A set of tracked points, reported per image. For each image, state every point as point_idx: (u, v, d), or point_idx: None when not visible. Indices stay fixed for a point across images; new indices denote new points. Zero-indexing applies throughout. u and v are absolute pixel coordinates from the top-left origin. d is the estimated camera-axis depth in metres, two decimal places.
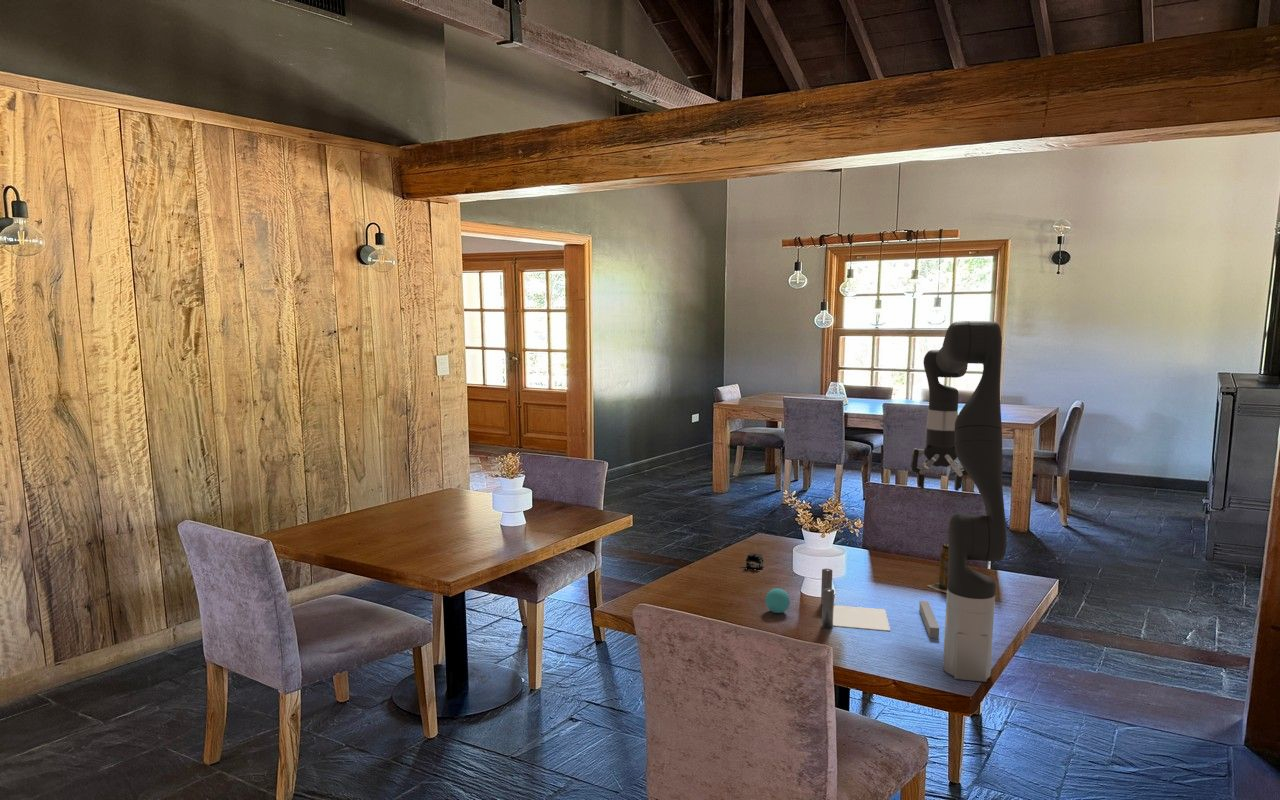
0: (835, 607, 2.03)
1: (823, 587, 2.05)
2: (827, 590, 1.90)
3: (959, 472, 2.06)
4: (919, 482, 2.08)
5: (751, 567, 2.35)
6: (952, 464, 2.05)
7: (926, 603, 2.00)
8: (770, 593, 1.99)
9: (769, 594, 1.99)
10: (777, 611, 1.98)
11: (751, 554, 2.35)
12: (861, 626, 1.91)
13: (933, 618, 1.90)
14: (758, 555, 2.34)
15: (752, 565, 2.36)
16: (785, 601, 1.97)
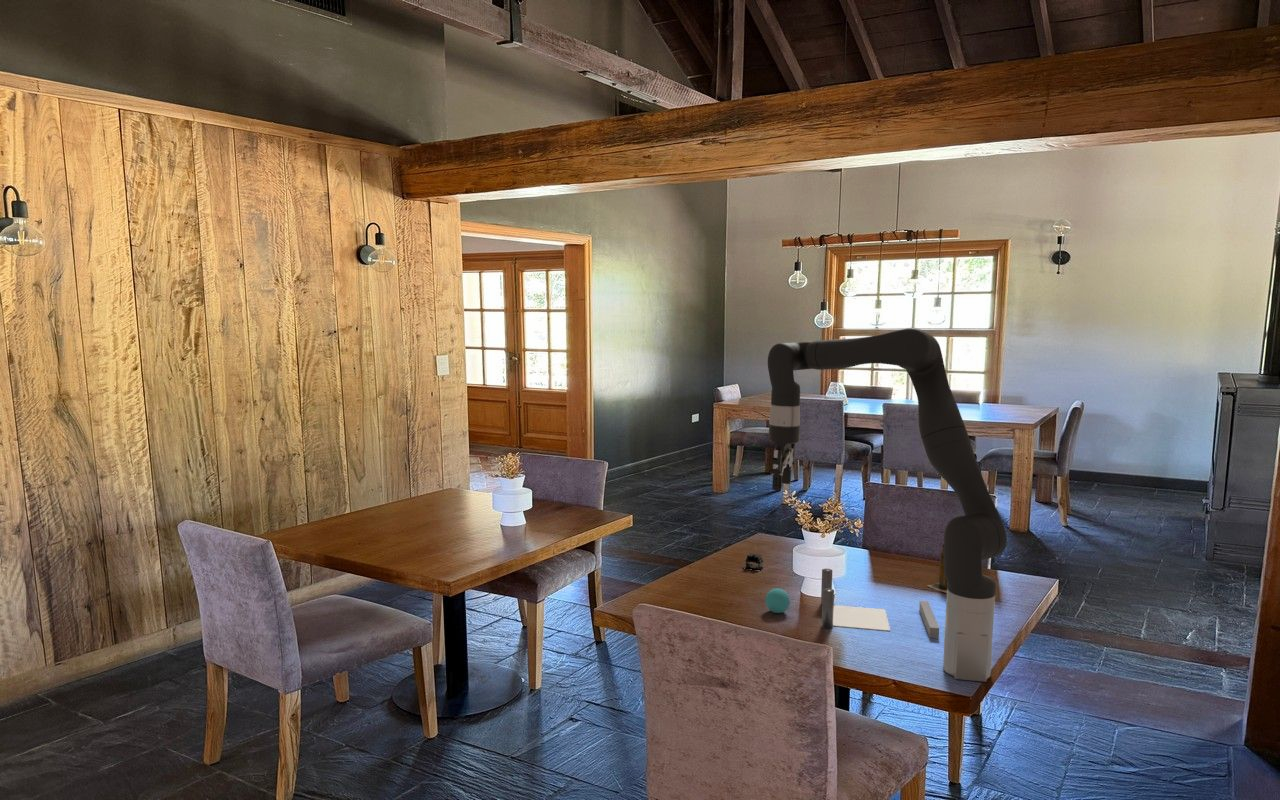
0: (835, 607, 2.03)
1: (823, 587, 2.05)
2: (827, 590, 1.90)
3: (791, 465, 2.04)
4: (779, 484, 1.96)
5: (751, 567, 2.34)
6: (792, 458, 2.02)
7: (926, 603, 2.00)
8: (770, 593, 1.99)
9: (769, 594, 1.99)
10: (777, 611, 1.98)
11: (751, 554, 2.35)
12: (861, 626, 1.91)
13: (933, 618, 1.90)
14: (758, 555, 2.34)
15: (752, 565, 2.35)
16: (785, 601, 1.97)
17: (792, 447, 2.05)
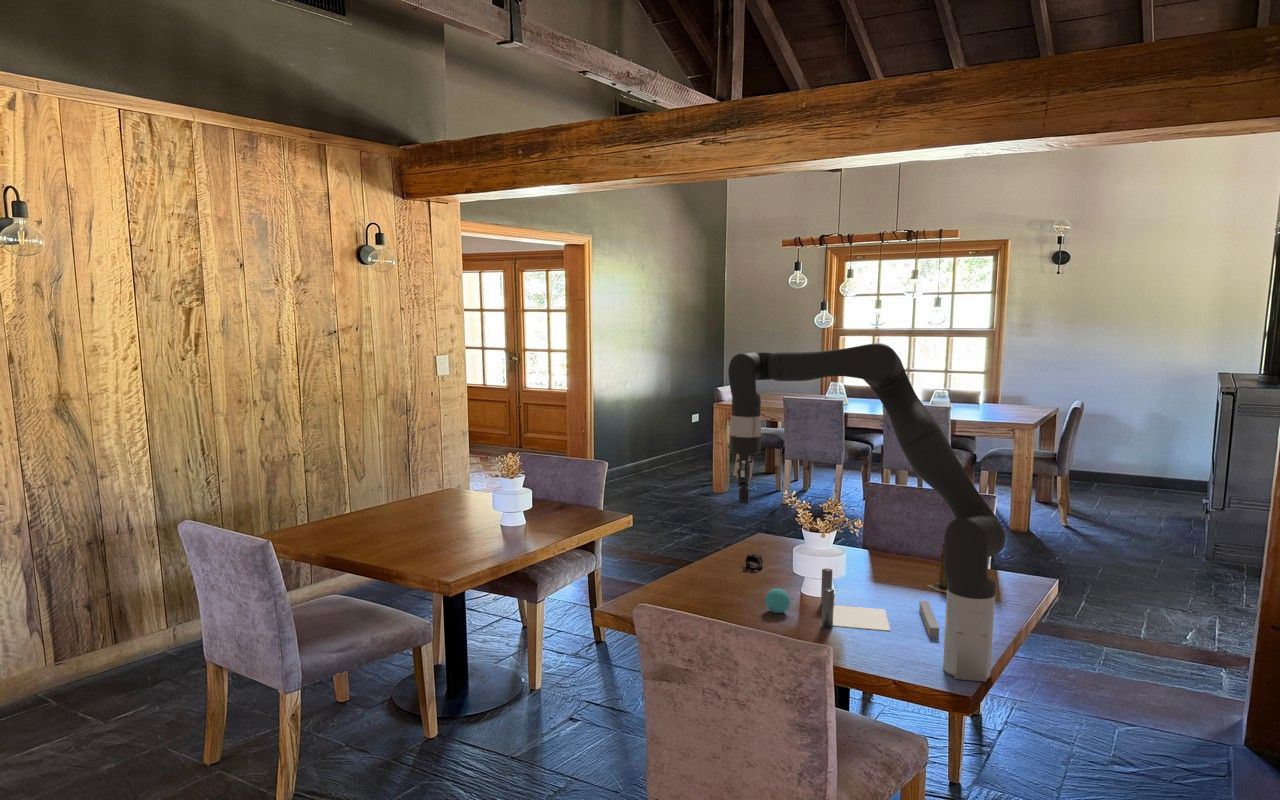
0: (835, 607, 2.03)
1: (823, 587, 2.05)
2: (827, 590, 1.90)
3: (749, 483, 1.99)
4: (746, 497, 1.97)
5: (750, 567, 2.34)
6: (751, 472, 1.99)
7: (926, 603, 2.00)
8: (770, 593, 1.99)
9: (769, 594, 1.99)
10: (777, 611, 1.98)
11: (750, 554, 2.35)
12: (861, 626, 1.91)
13: (933, 618, 1.90)
14: (757, 556, 2.34)
15: (751, 565, 2.36)
16: (785, 601, 1.97)
17: None
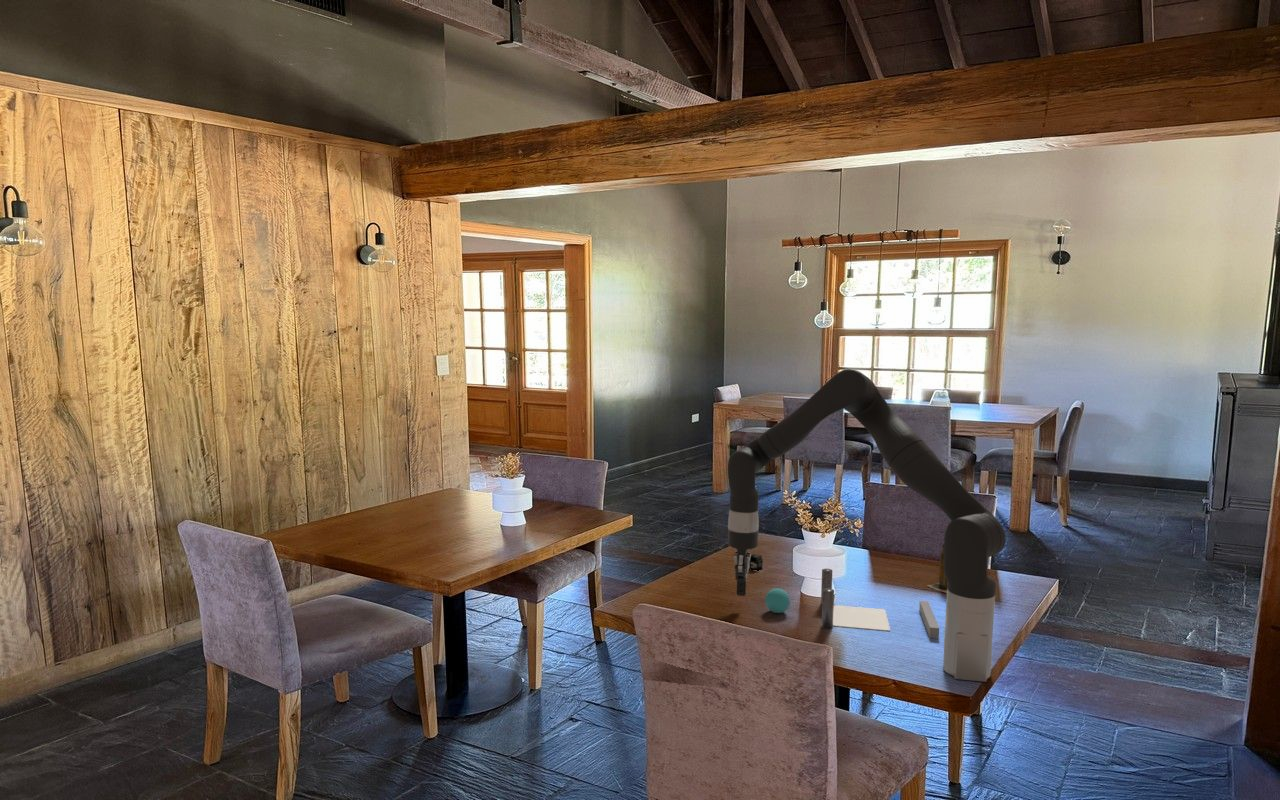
0: (835, 607, 2.03)
1: (823, 587, 2.05)
2: (827, 590, 1.90)
3: (746, 575, 2.01)
4: (743, 590, 2.00)
5: (749, 567, 2.34)
6: None
7: (926, 603, 2.00)
8: (770, 593, 1.99)
9: (769, 594, 1.99)
10: (777, 611, 1.98)
11: None
12: (861, 626, 1.91)
13: (933, 618, 1.90)
14: (757, 556, 2.34)
15: (751, 565, 2.36)
16: (785, 601, 1.97)
17: None
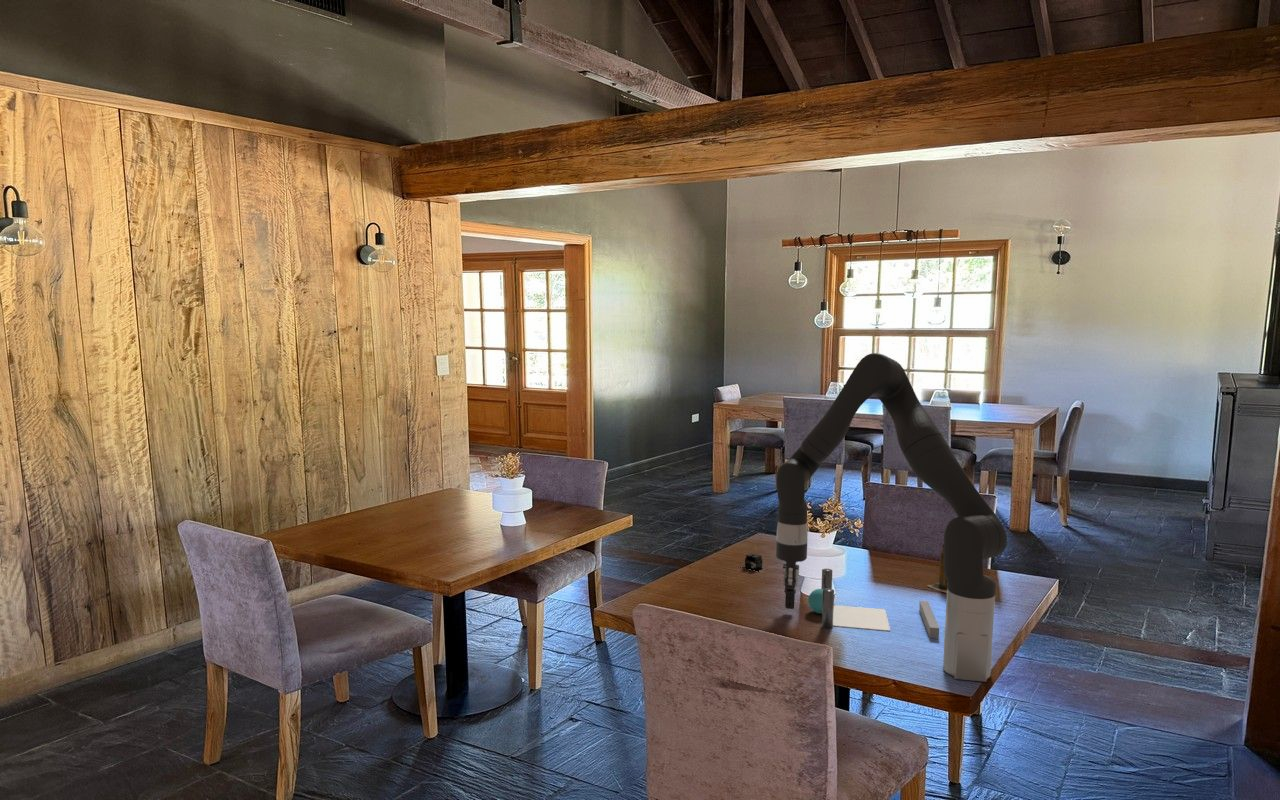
0: (835, 607, 2.03)
1: (823, 587, 2.05)
2: (827, 590, 1.90)
3: None
4: (792, 603, 1.98)
5: (749, 567, 2.34)
6: None
7: (926, 603, 2.00)
8: None
9: None
10: None
11: (750, 554, 2.35)
12: (861, 626, 1.91)
13: (933, 618, 1.90)
14: (756, 556, 2.34)
15: (751, 565, 2.36)
16: (816, 605, 1.97)
17: None
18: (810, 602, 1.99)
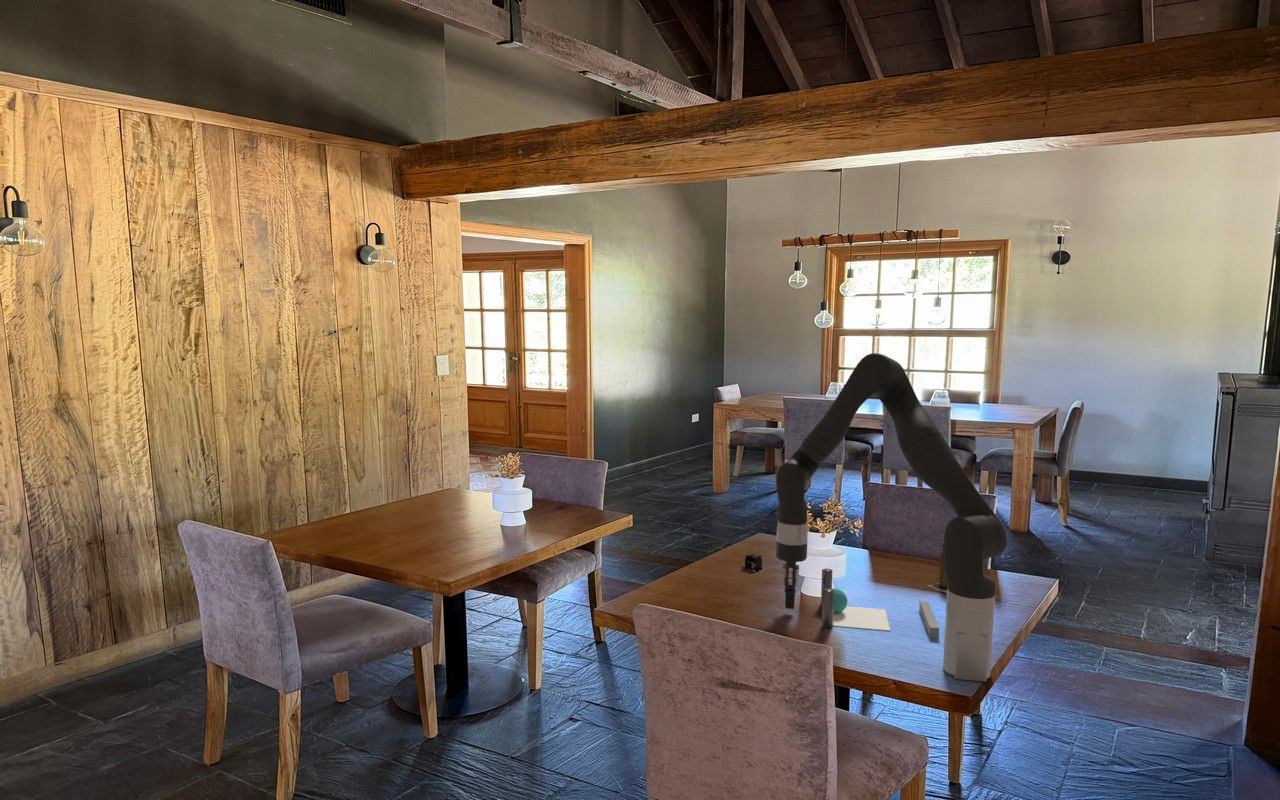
0: None
1: (823, 587, 2.05)
2: (827, 590, 1.90)
3: None
4: (792, 603, 1.98)
5: (749, 567, 2.34)
6: None
7: (926, 603, 2.00)
8: None
9: None
10: (846, 601, 1.99)
11: (750, 554, 2.35)
12: (861, 626, 1.91)
13: (933, 618, 1.90)
14: (756, 556, 2.34)
15: (751, 565, 2.36)
16: (835, 597, 1.97)
17: None
18: None
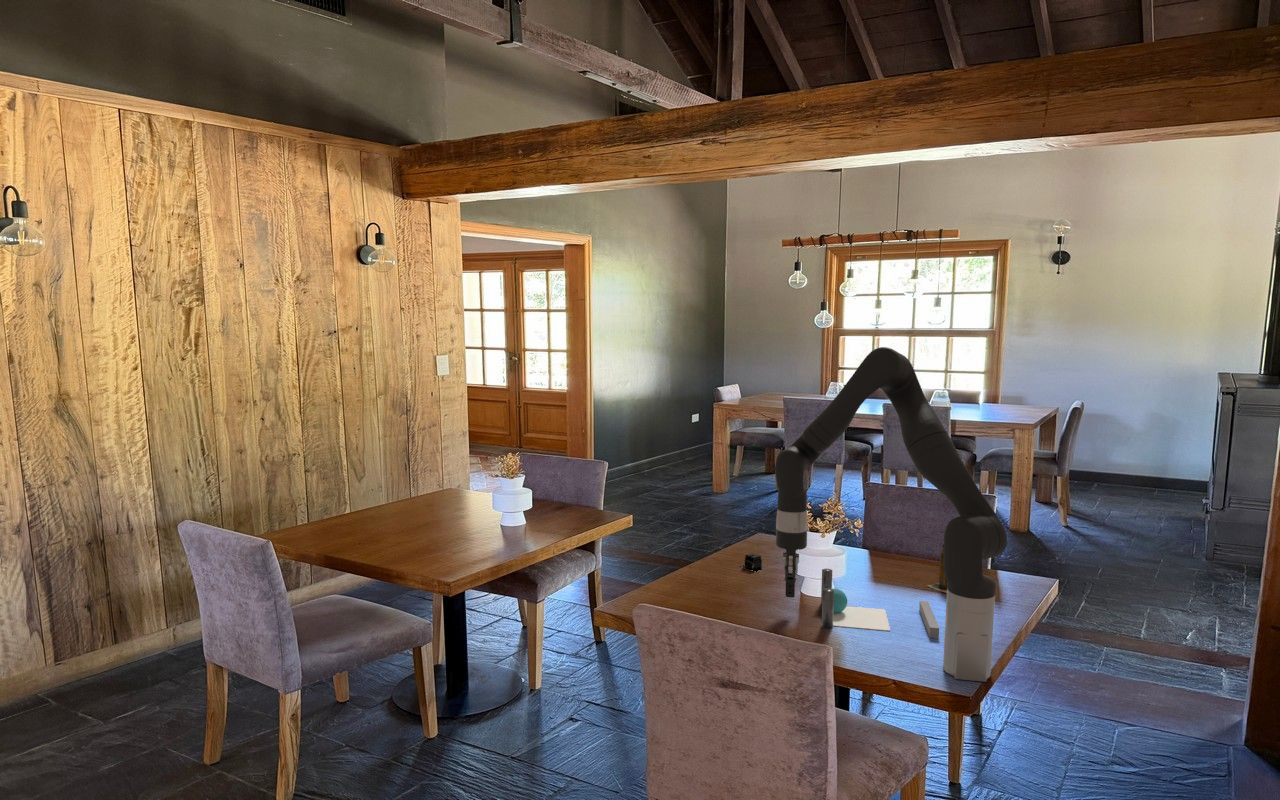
0: None
1: (823, 587, 2.05)
2: (827, 590, 1.90)
3: None
4: (792, 591, 1.97)
5: (748, 567, 2.35)
6: None
7: (926, 603, 2.00)
8: None
9: None
10: (846, 601, 1.99)
11: (750, 554, 2.35)
12: (861, 626, 1.91)
13: (933, 618, 1.90)
14: (755, 556, 2.34)
15: (751, 565, 2.36)
16: (835, 597, 1.97)
17: None
18: None
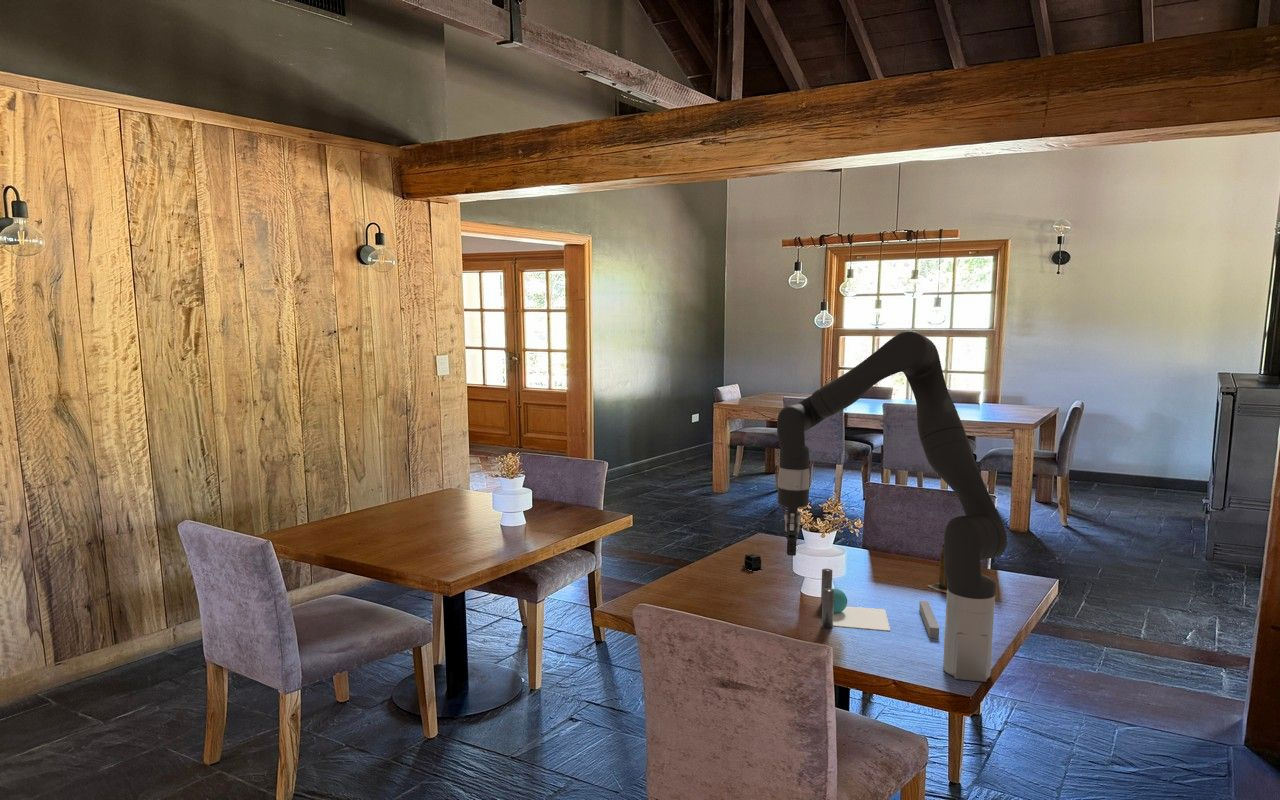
0: None
1: (823, 587, 2.05)
2: (827, 590, 1.90)
3: None
4: (794, 549, 1.96)
5: (747, 567, 2.35)
6: (799, 523, 1.98)
7: (926, 603, 2.00)
8: None
9: None
10: (846, 601, 1.99)
11: (750, 554, 2.35)
12: (861, 626, 1.91)
13: (933, 618, 1.90)
14: (754, 556, 2.34)
15: (751, 565, 2.36)
16: (835, 597, 1.97)
17: None
18: None
